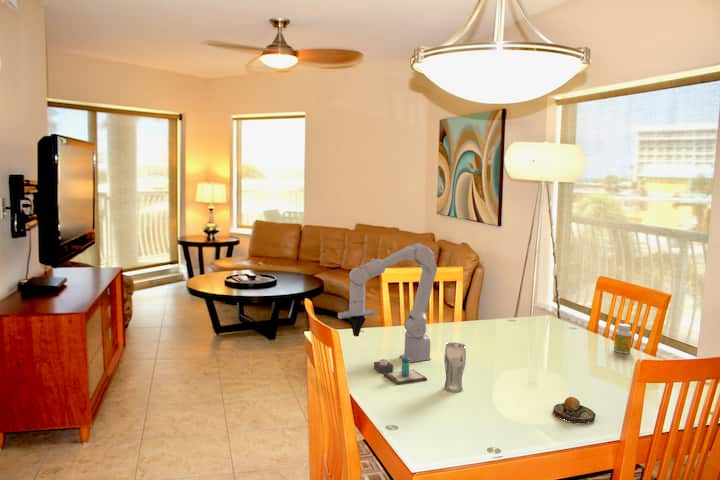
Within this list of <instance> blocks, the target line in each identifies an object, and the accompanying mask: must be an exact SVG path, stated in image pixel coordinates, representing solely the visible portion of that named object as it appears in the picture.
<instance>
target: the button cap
mask: <svg viewBox="0 0 720 480" xmlns="http://www.w3.org/2000/svg"><path fill="white" fill-rule="evenodd" d="M379 361H380V365H381V366H382V365H387V363H388V362H389V361H388V359H384V358H383V359H382V358H381V359H380V360H379Z"/></svg>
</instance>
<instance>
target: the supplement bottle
mask: <svg viewBox="0 0 720 480" xmlns="http://www.w3.org/2000/svg"><path fill="white" fill-rule="evenodd" d="M630 330H631V324H627V323H618V325H617V329H616V330H615V333H614V346H613V351H614V352H616V353H619V354H630V352H631V350H632V349H631V348H632V340H633V339H632V338H633V333H632V331H630Z"/></svg>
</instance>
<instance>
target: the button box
mask: <svg viewBox="0 0 720 480" xmlns="http://www.w3.org/2000/svg"><path fill="white" fill-rule="evenodd" d="M373 370H374V371H376V372H377V373H379V374H382V375H383V374H386V373H393V372H394V364H392V363H391V362H389V361H388V363H387V365H382V366H381V365H380V360H379V361H374V362H373Z"/></svg>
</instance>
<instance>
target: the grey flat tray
mask: <svg viewBox="0 0 720 480" xmlns="http://www.w3.org/2000/svg"><path fill="white" fill-rule="evenodd" d="M401 373H402V370H401V371H395V372H394V371H393V372H389V373H383V376H384V378H386V379H387V380H389V381H390V382H392V383H393V384H395V385H396V386H398V385H406V384H411V383H420V382H425V381H428V378H427V377H426V376H424V375H423V374H421V373H419V372H418V371H416V370H415V369H409V376H402V375H401Z"/></svg>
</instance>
